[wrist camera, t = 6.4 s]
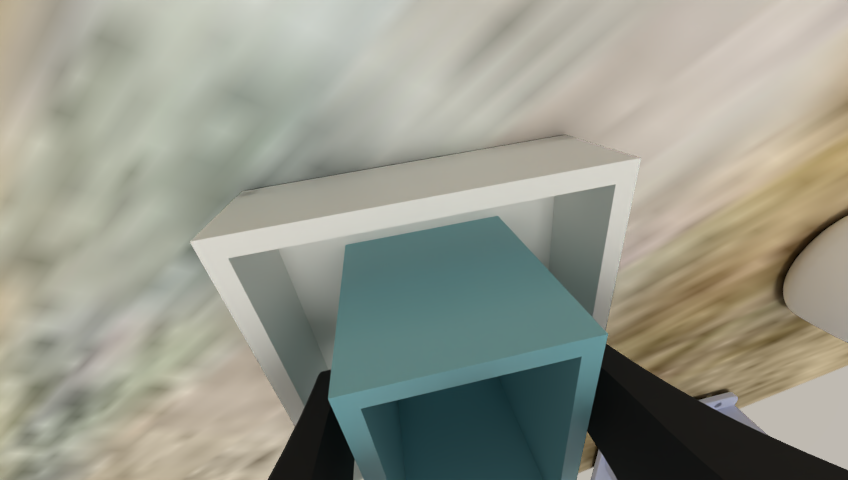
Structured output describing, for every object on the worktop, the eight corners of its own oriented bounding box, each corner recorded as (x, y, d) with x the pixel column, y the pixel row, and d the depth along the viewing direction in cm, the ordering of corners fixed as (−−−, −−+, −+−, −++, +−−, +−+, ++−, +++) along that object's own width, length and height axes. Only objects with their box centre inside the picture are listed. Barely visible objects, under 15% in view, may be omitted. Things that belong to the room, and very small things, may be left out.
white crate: (565, 134, 11) (641, 158, 8) (545, 365, 17) (585, 429, 14) (242, 191, 10) (189, 241, 7) (339, 414, 16) (333, 494, 13)
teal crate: (497, 215, 12) (608, 333, 6) (500, 362, 15) (569, 511, 10) (345, 244, 11) (328, 398, 6) (387, 389, 15) (399, 559, 10)
